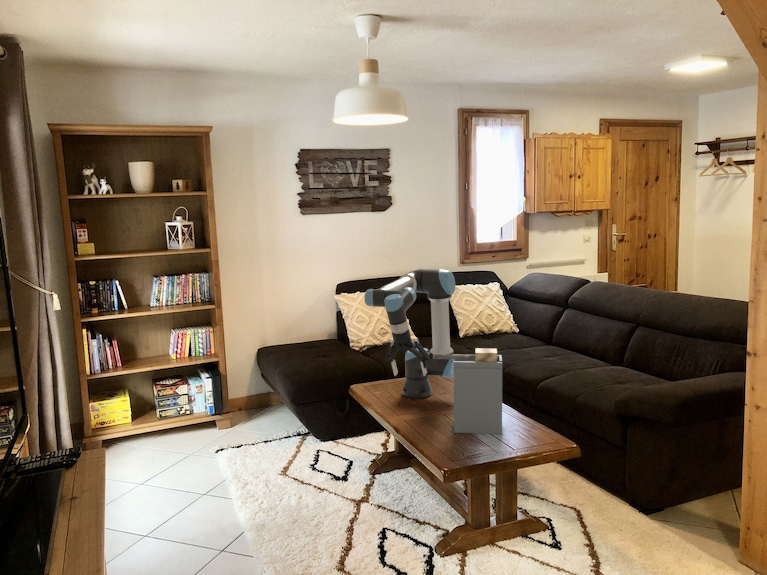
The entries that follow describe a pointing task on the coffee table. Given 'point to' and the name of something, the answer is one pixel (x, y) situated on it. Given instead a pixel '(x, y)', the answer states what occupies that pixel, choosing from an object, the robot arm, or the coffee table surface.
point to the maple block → (479, 356)
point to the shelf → (478, 396)
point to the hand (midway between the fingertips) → (410, 374)
